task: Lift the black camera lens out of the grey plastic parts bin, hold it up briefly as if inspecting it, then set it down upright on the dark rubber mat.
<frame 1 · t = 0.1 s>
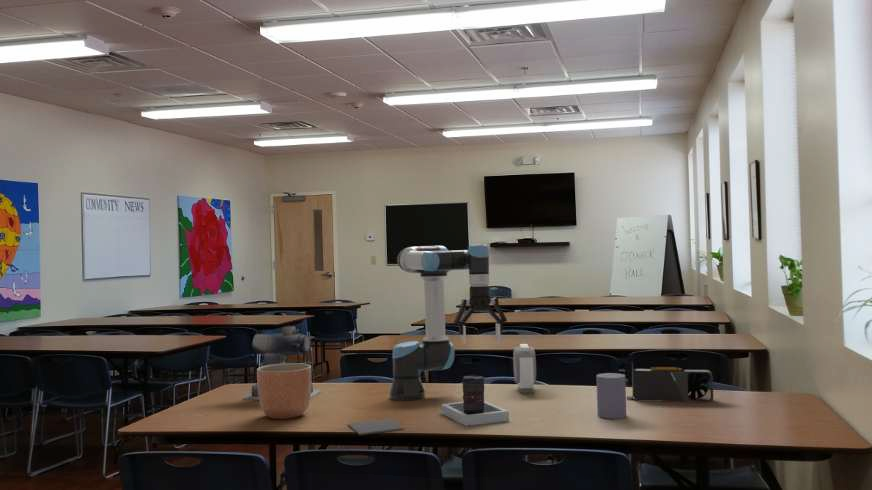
hand: (481, 342, 280), 28 cm above the table, fingers open, 13 cm apart
graphics card: (669, 401, 300), on the table
parts bin: (474, 417, 280), on the table
grinder: (282, 396, 334), on the table
camera lens: (474, 417, 280), resting in parts bin
planter: (285, 416, 291), on the table
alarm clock: (525, 390, 329), on the table
mat: (375, 427, 268), on the table
container: (611, 416, 275), on the table
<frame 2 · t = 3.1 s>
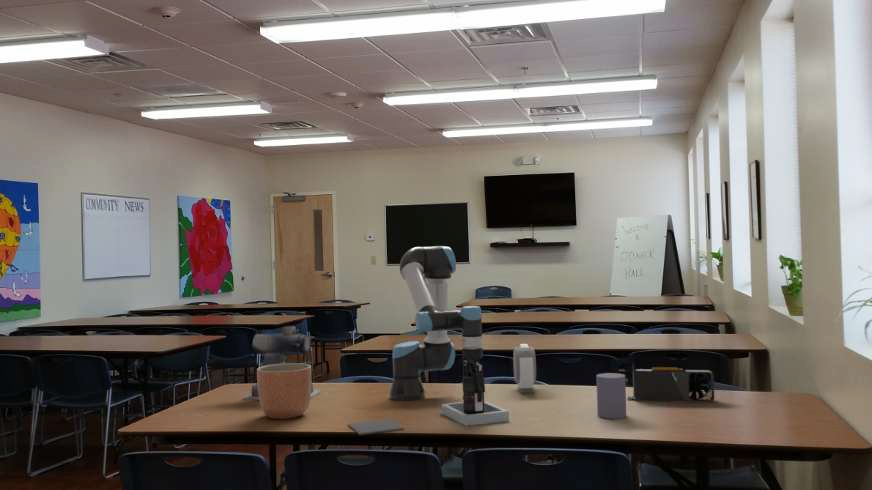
hand: (474, 408, 280), 3 cm above the table, fingers closed on camera lens, 8 cm apart
camera lens: (474, 417, 280), resting in parts bin, touching gripper
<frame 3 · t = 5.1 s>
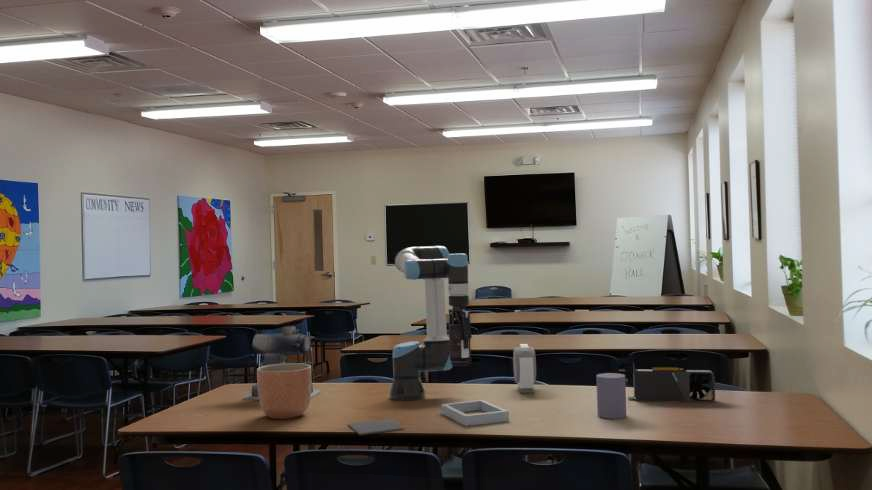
hand: (460, 355, 279), 23 cm above the table, fingers closed on camera lens, 8 cm apart
camera lens: (460, 365, 279), point 20 cm above the table, touching gripper
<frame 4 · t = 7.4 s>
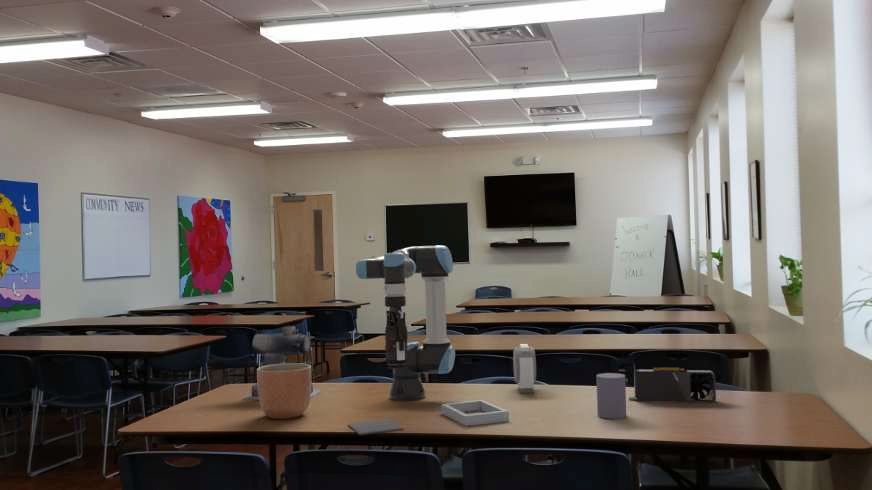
hand: (396, 358, 271), 24 cm above the table, fingers closed on camera lens, 8 cm apart
camera lens: (397, 368, 271), point 21 cm above the table, touching gripper
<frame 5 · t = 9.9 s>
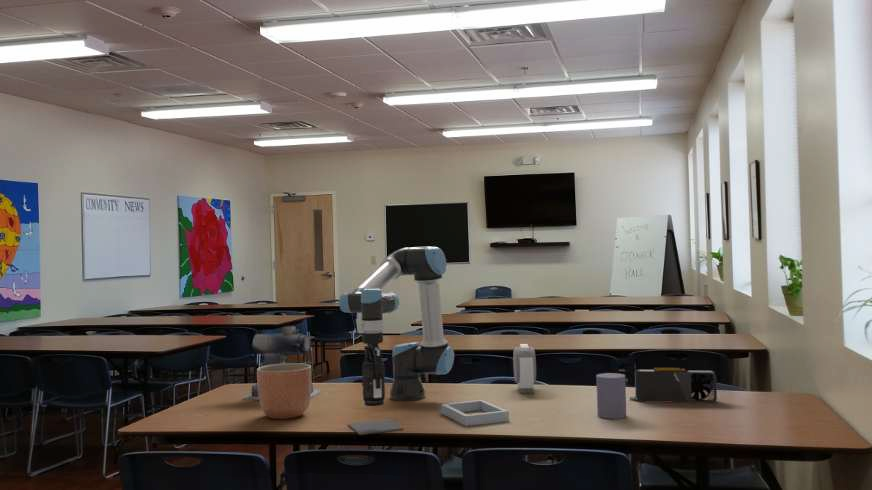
hand: (374, 395, 268), 11 cm above the table, fingers closed on camera lens, 8 cm apart
camera lens: (374, 405, 268), point 8 cm above the table, touching gripper
when the fingers open (5 cm above the table, at t = 11.6 s): camera lens drops 1 cm, resting on mat.
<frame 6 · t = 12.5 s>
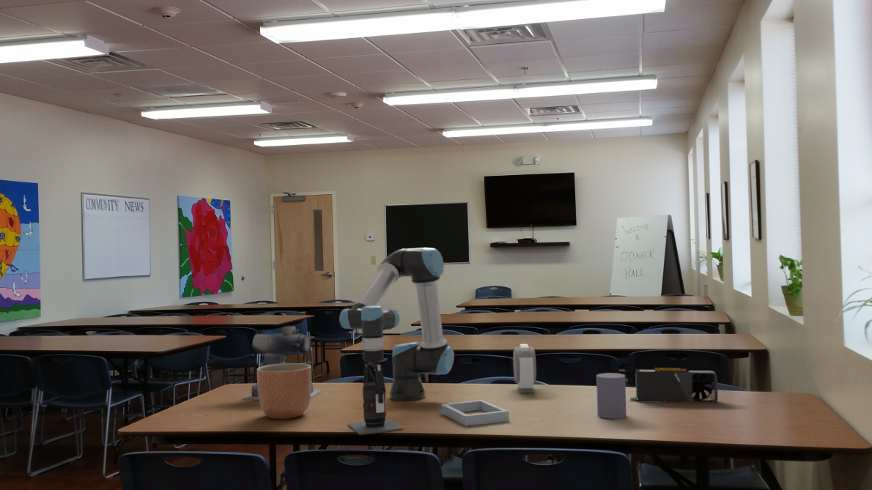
hand: (374, 408, 268), 7 cm above the table, fingers open, 13 cm apart
camera lens: (375, 426, 268), resting on mat
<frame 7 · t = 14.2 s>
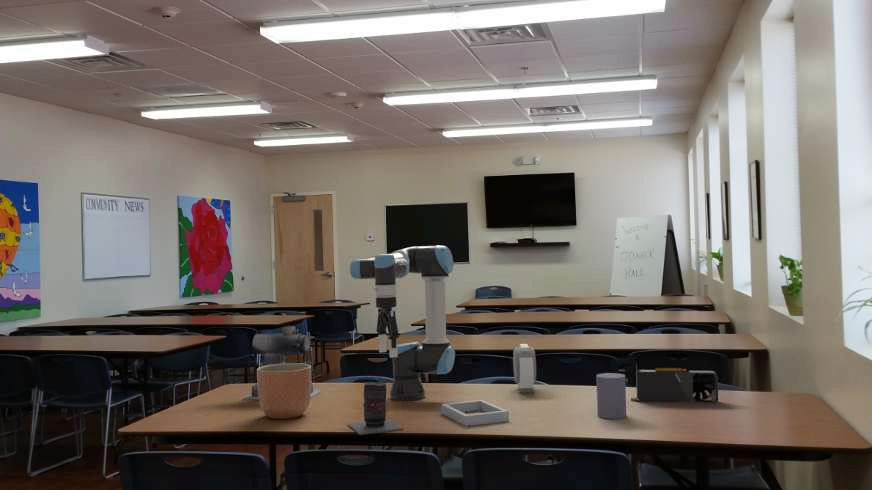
hand: (388, 354, 273), 25 cm above the table, fingers open, 13 cm apart
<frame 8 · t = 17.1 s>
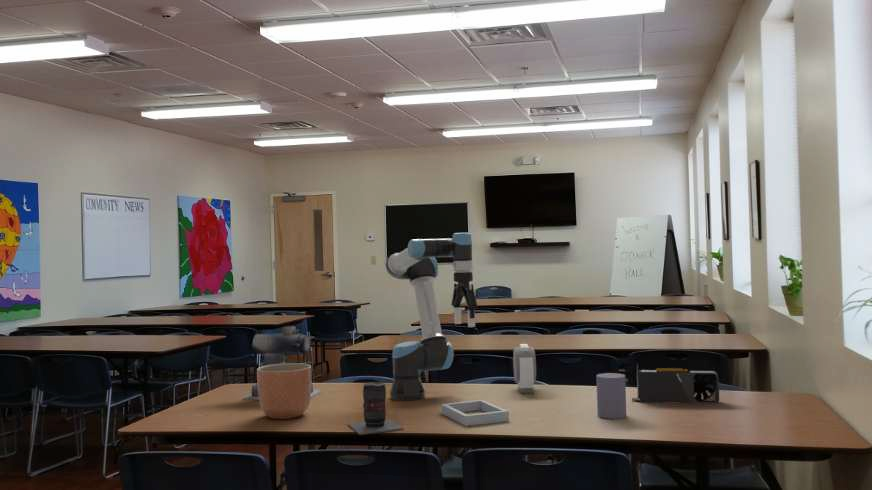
hand: (464, 325, 296), 33 cm above the table, fingers open, 13 cm apart
at the end: camera lens inside the target area on the mat (0.1 cm from its centre), point 0.5 cm above the mat's base; camera lens tilted 1°; camera lens touching mat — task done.
